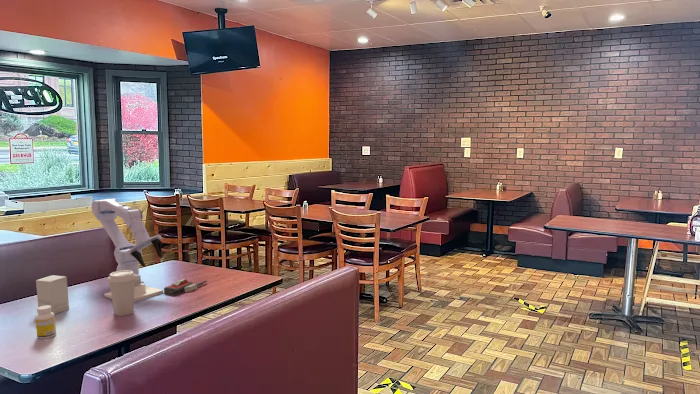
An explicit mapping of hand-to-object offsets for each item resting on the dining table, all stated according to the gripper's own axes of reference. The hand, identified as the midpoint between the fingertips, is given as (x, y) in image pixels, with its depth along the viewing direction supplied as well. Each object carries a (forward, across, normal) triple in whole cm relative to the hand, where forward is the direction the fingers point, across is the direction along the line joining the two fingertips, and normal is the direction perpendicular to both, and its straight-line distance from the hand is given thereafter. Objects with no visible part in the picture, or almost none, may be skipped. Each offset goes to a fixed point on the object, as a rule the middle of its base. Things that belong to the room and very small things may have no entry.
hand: (152, 261), depth 213 cm
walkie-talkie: (+15, +5, +10) cm, 19 cm away
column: (+7, -12, +1) cm, 14 cm away
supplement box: (+6, -35, -17) cm, 39 cm away
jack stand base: (+8, -12, +2) cm, 15 cm away
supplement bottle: (+21, -28, -38) cm, 52 cm away
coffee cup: (+20, -11, -17) cm, 29 cm away
